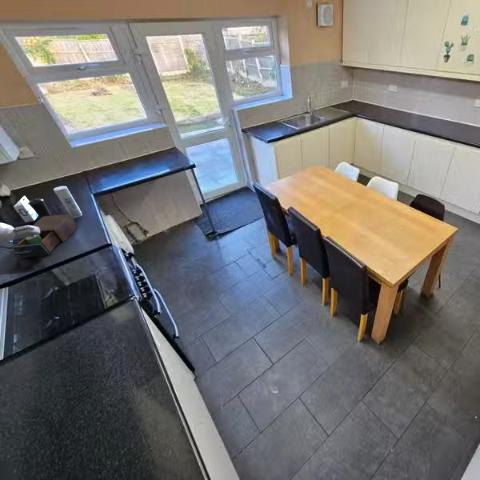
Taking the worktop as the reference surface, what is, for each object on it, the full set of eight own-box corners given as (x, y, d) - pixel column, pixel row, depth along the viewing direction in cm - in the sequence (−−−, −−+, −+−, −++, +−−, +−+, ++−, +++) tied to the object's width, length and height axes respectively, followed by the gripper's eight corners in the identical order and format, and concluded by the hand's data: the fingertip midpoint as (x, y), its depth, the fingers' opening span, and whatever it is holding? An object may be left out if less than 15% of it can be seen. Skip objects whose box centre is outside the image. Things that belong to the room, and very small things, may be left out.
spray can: (77, 212, 184) (61, 185, 173) (85, 213, 183) (69, 186, 171) (68, 217, 179) (50, 189, 168) (76, 218, 178) (58, 190, 166)
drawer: (44, 261, 145) (34, 250, 140) (16, 264, 143) (5, 253, 138) (65, 238, 161) (56, 227, 156) (40, 241, 159) (30, 230, 154)
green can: (33, 251, 150) (22, 240, 144) (39, 245, 154) (29, 233, 149) (44, 250, 150) (34, 238, 145) (50, 244, 155) (40, 232, 149)
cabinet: (63, 242, 159) (53, 229, 153) (36, 245, 157) (24, 232, 151) (78, 226, 171) (69, 213, 165) (53, 229, 170) (42, 216, 164)
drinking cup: (55, 215, 182) (37, 188, 170) (56, 220, 177) (38, 192, 166) (40, 220, 178) (20, 192, 166) (41, 224, 173) (21, 196, 162)
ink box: (29, 216, 181) (15, 196, 173) (39, 214, 183) (25, 195, 174) (24, 222, 175) (9, 202, 166) (34, 220, 177) (19, 200, 168)
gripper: (27, 220, 130) (45, 226, 143) (-30, 232, 123) (-5, 238, 136) (31, 232, 130) (49, 237, 142) (-26, 245, 122) (-2, 249, 135)
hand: (22, 237), depth 139 cm, fingers open, 8 cm apart
